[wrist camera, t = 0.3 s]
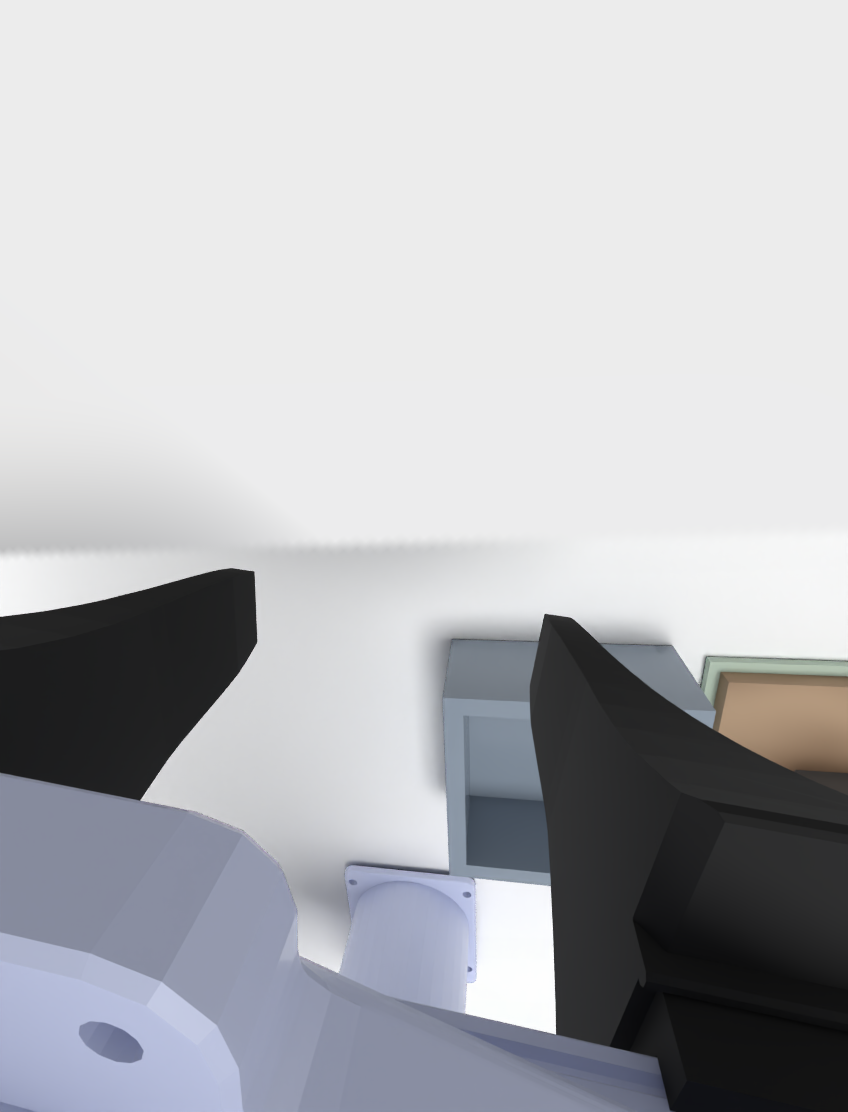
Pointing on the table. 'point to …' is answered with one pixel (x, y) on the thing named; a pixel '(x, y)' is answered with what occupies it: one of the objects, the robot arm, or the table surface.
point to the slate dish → (518, 751)
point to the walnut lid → (789, 721)
